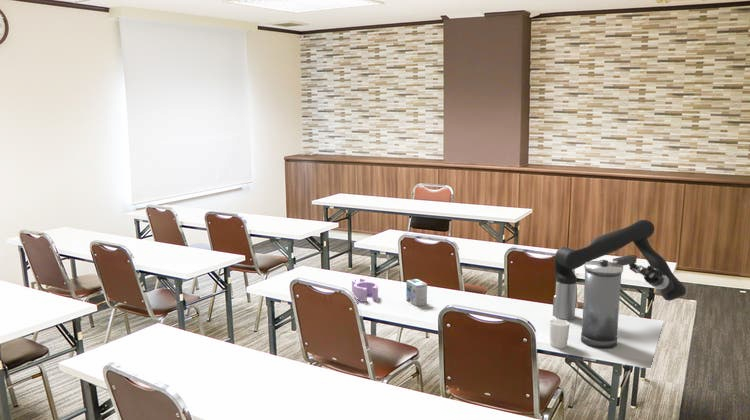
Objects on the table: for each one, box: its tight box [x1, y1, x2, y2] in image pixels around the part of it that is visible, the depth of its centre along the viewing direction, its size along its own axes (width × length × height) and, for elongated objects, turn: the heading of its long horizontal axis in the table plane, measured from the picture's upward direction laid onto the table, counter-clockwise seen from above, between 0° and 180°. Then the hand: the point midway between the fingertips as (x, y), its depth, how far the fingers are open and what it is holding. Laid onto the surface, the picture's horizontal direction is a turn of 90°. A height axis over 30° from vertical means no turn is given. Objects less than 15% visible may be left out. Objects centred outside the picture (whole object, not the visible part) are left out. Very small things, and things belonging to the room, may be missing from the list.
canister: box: [580, 268, 623, 350], centre depth 250 cm, size 14×14×32 cm
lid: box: [583, 254, 638, 274], centre depth 251 cm, size 15×28×4 cm, turn 123°
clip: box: [351, 278, 379, 303], centre depth 316 cm, size 20×12×7 cm, turn 23°
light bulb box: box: [405, 278, 428, 306], centre depth 305 cm, size 11×7×11 cm, turn 25°
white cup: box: [549, 318, 570, 349], centre depth 249 cm, size 8×8×10 cm
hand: (639, 265), depth 261 cm, fingers open, 8 cm apart
